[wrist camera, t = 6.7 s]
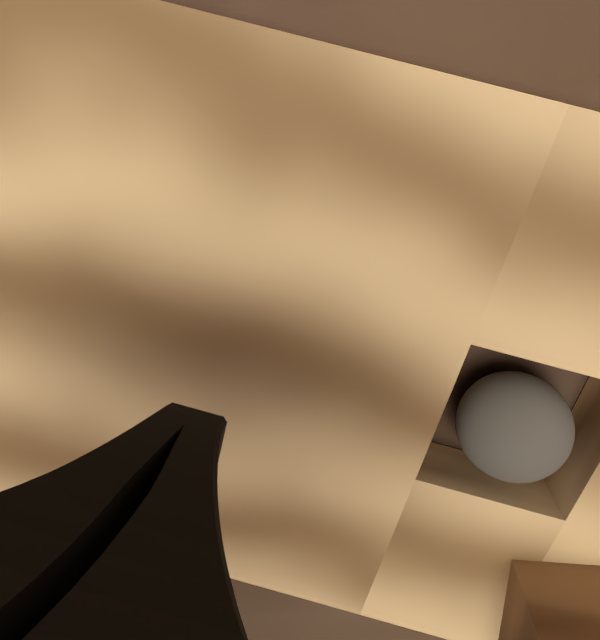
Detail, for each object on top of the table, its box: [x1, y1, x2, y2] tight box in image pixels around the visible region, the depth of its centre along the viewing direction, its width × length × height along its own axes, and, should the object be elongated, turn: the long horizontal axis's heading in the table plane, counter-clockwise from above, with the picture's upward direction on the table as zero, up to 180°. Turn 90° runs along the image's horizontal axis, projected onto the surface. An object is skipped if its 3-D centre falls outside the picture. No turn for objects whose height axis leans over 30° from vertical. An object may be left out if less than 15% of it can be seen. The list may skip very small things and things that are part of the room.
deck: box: [0, 0, 600, 640], centre depth 16 cm, size 18×26×2 cm
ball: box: [455, 371, 575, 483], centre depth 16 cm, size 4×4×4 cm
